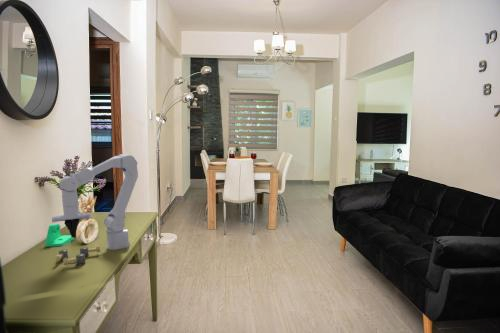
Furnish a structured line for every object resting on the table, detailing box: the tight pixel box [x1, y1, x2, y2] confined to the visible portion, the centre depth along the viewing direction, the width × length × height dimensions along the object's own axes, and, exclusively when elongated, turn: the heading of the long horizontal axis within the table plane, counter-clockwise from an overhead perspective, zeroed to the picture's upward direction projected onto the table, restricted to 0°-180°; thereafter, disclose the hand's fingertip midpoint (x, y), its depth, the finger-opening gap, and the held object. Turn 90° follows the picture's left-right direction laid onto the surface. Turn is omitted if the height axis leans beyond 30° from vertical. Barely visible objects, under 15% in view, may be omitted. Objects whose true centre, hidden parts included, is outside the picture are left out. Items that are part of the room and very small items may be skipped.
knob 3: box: [79, 245, 101, 258], centre depth 145 cm, size 8×3×4 cm, turn 110°
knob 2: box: [62, 253, 86, 266], centre depth 136 cm, size 8×3×4 cm, turn 127°
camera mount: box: [44, 223, 75, 247], centre depth 163 cm, size 12×8×10 cm, turn 2°
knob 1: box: [55, 248, 69, 263], centre depth 140 cm, size 8×3×4 cm, turn 8°
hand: (73, 236), depth 143 cm, fingers closed
